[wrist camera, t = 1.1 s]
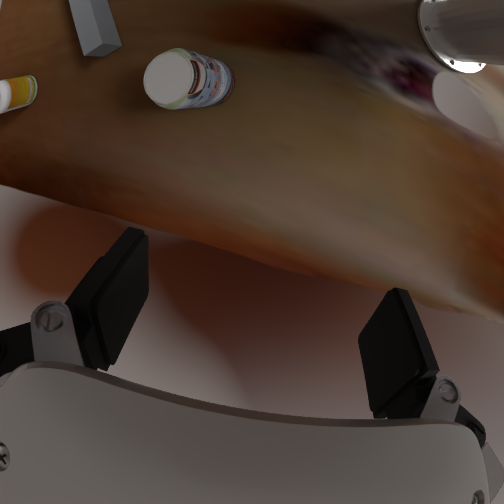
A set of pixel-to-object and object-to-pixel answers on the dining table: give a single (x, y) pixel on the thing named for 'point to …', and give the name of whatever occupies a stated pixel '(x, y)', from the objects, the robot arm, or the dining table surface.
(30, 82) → the supplement bottle
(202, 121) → the dining table surface
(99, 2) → the grey long bar
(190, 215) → the dining table surface
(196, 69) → the beverage can
